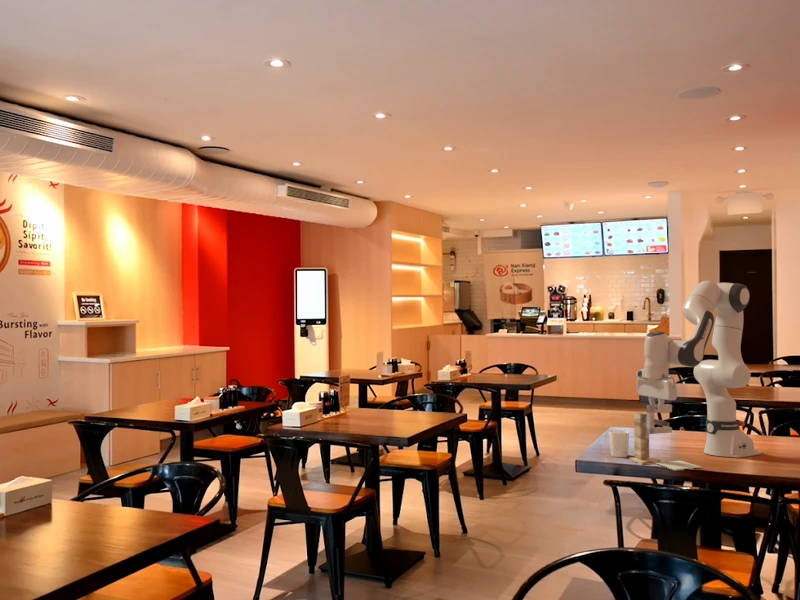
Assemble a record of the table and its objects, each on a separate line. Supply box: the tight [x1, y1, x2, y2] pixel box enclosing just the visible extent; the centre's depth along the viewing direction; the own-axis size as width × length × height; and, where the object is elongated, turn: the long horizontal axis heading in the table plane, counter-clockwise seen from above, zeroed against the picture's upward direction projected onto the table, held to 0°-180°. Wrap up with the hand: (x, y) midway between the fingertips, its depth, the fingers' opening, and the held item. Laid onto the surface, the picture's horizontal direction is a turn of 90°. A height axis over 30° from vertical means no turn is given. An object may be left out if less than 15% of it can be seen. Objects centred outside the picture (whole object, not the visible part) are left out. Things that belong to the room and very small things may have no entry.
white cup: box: [608, 429, 630, 458], centre depth 297 cm, size 8×8×10 cm
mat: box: [655, 460, 703, 472], centre depth 277 cm, size 12×12×1 cm
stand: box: [628, 412, 670, 465], centre depth 281 cm, size 9×18×19 cm, turn 17°
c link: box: [646, 403, 673, 435], centre depth 277 cm, size 10×2×11 cm, turn 107°
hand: (656, 409), depth 277 cm, fingers closed on c link, 2 cm apart
